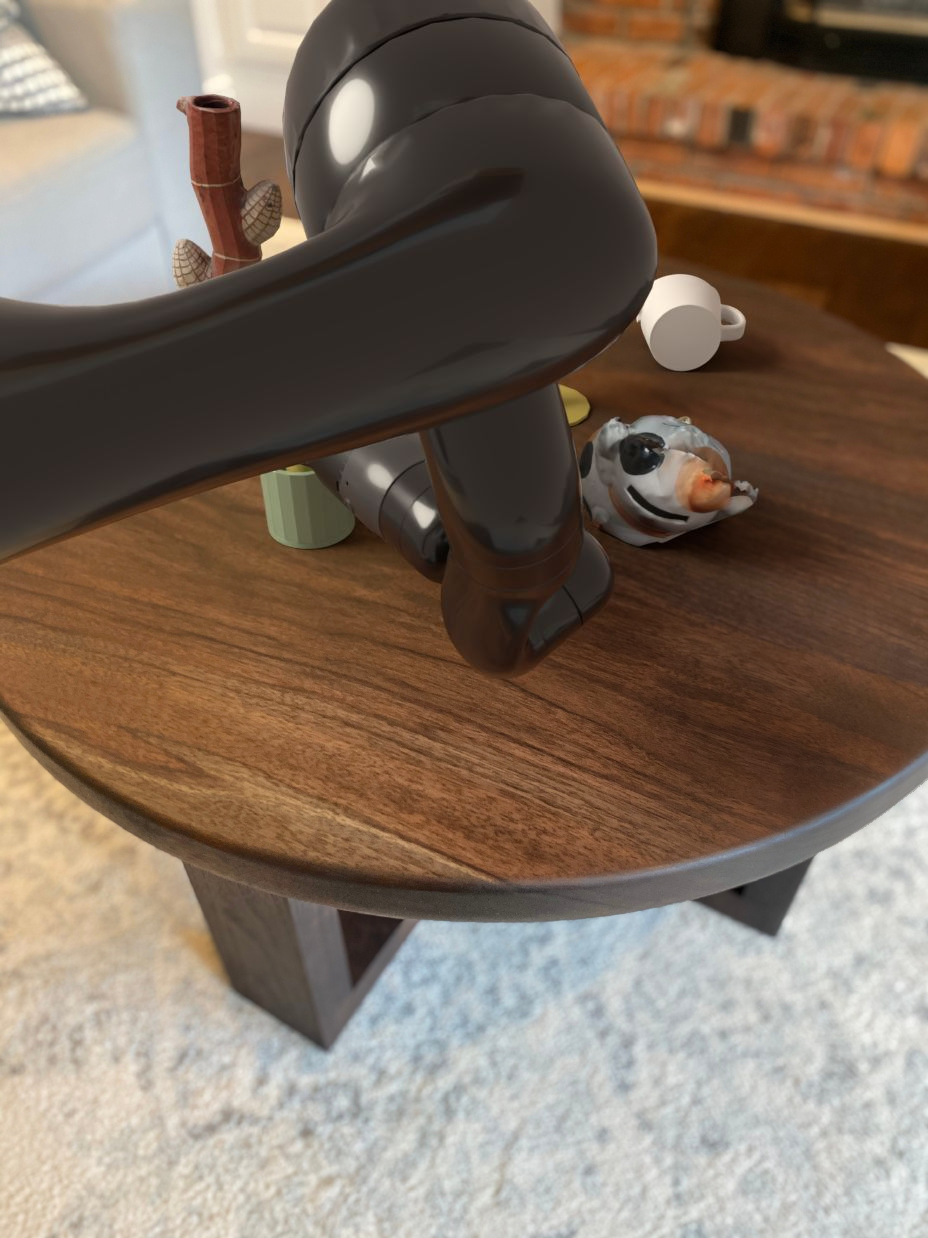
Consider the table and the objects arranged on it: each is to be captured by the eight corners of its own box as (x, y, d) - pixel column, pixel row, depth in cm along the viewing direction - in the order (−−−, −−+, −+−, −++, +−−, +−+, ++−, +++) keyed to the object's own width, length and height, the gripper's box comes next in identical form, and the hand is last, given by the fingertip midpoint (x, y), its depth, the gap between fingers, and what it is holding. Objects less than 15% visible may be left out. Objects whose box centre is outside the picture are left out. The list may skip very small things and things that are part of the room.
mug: (637, 369, 108) (647, 301, 103) (632, 335, 115) (641, 269, 110) (743, 374, 107) (758, 306, 102) (731, 339, 114) (745, 274, 109)
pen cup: (275, 556, 80) (264, 481, 76) (261, 506, 86) (250, 434, 81) (364, 540, 82) (359, 466, 77) (344, 492, 88) (338, 421, 83)
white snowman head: (744, 495, 88) (806, 414, 75) (691, 597, 84) (746, 530, 71) (603, 420, 90) (640, 328, 77) (545, 517, 86) (573, 437, 73)
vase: (190, 422, 98) (126, 99, 78) (229, 391, 103) (178, 81, 83) (279, 442, 95) (236, 112, 75) (314, 409, 100) (282, 93, 80)
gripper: (471, 401, 68) (354, 319, 78) (293, 458, 62) (193, 360, 72) (470, 489, 73) (360, 400, 83) (305, 550, 66) (209, 446, 77)
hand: (283, 382), depth 78 cm, fingers closed on glue stick, 3 cm apart
